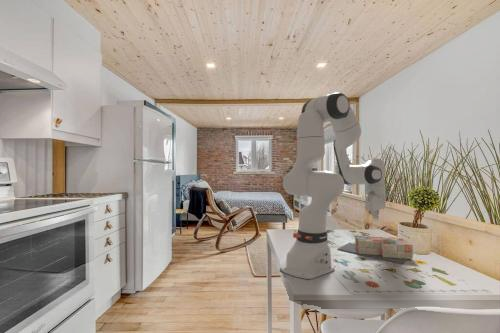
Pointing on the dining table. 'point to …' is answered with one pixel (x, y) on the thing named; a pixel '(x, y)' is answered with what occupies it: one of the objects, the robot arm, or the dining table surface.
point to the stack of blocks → (384, 246)
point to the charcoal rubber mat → (352, 249)
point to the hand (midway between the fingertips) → (375, 218)
